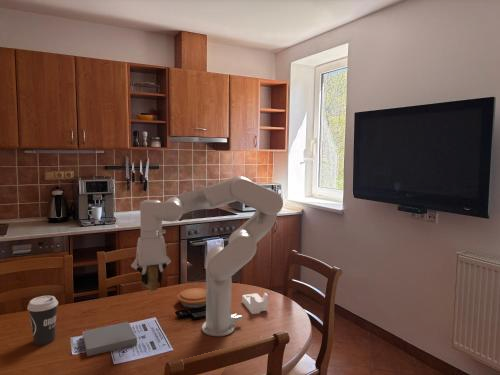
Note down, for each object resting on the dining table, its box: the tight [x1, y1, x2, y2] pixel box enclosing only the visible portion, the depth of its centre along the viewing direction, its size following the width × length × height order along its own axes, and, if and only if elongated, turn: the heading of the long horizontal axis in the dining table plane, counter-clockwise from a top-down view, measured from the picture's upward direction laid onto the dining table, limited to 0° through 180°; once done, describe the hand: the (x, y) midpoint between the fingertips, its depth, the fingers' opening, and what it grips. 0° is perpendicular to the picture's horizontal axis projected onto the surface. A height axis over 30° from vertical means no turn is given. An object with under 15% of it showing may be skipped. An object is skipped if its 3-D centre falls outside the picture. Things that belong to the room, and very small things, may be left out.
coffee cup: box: [27, 295, 59, 346], centre depth 132 cm, size 10×10×15 cm
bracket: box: [241, 292, 269, 315], centre depth 163 cm, size 13×7×8 cm, turn 20°
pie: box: [176, 287, 206, 309], centre depth 167 cm, size 15×16×5 cm
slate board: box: [82, 321, 138, 357], centre depth 133 cm, size 16×14×2 cm
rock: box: [143, 265, 159, 292], centre depth 137 cm, size 11×9×10 cm
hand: (151, 282), depth 138 cm, fingers closed on rock, 4 cm apart
